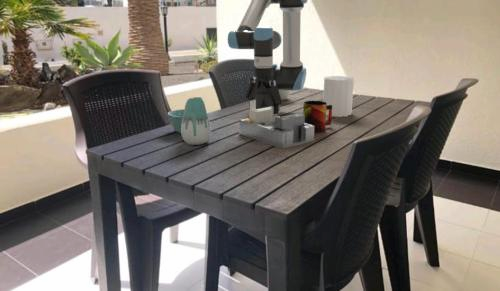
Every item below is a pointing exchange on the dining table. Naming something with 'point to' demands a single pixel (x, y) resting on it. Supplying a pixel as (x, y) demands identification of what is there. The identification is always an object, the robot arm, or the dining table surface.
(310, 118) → the mug
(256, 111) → the block
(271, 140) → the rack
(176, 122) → the bowl
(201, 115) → the vase
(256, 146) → the dining table surface
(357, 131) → the dining table surface
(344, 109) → the container
